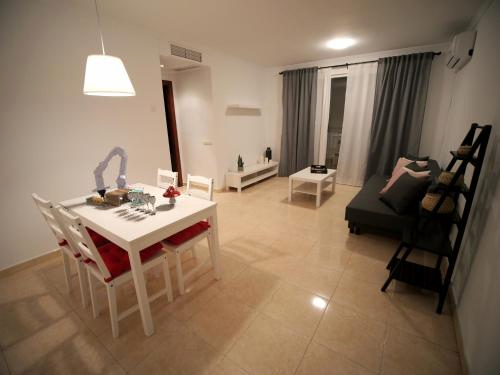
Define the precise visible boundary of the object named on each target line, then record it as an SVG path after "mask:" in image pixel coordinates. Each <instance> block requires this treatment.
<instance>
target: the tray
mask: <svg viewBox="0 0 500 375" xmlns="http://www.w3.org/2000/svg"><path fill="white" fill-rule="evenodd" d="M104 199H105V198H103V197H101V196H95V195H94V196H90V197H87V198H85V201H86V204H88V205H92V206H93V205H94V206H99V207H103V206H107V202H106V200H104Z"/></svg>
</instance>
